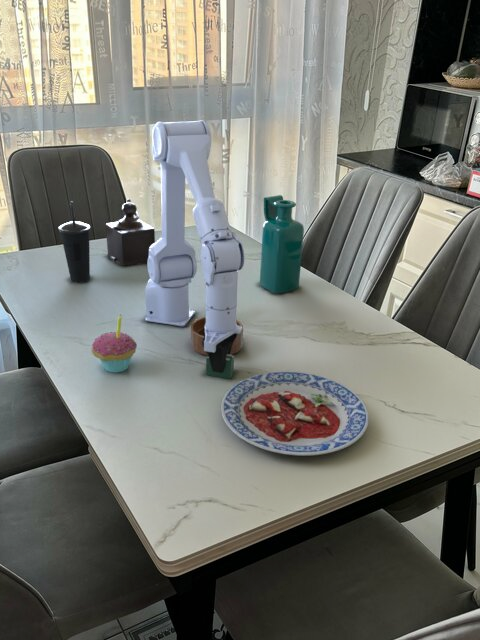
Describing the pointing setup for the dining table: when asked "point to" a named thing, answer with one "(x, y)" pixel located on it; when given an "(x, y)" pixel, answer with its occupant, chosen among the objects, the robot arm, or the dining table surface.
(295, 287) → the teal green bottle
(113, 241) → the dark brown knobbed box
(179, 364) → the dining table surface
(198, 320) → the bowl
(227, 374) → the green clip
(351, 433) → the ceramic plate
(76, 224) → the drinking cup
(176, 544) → the dining table surface
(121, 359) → the cupcake
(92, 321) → the dining table surface
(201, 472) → the dining table surface
